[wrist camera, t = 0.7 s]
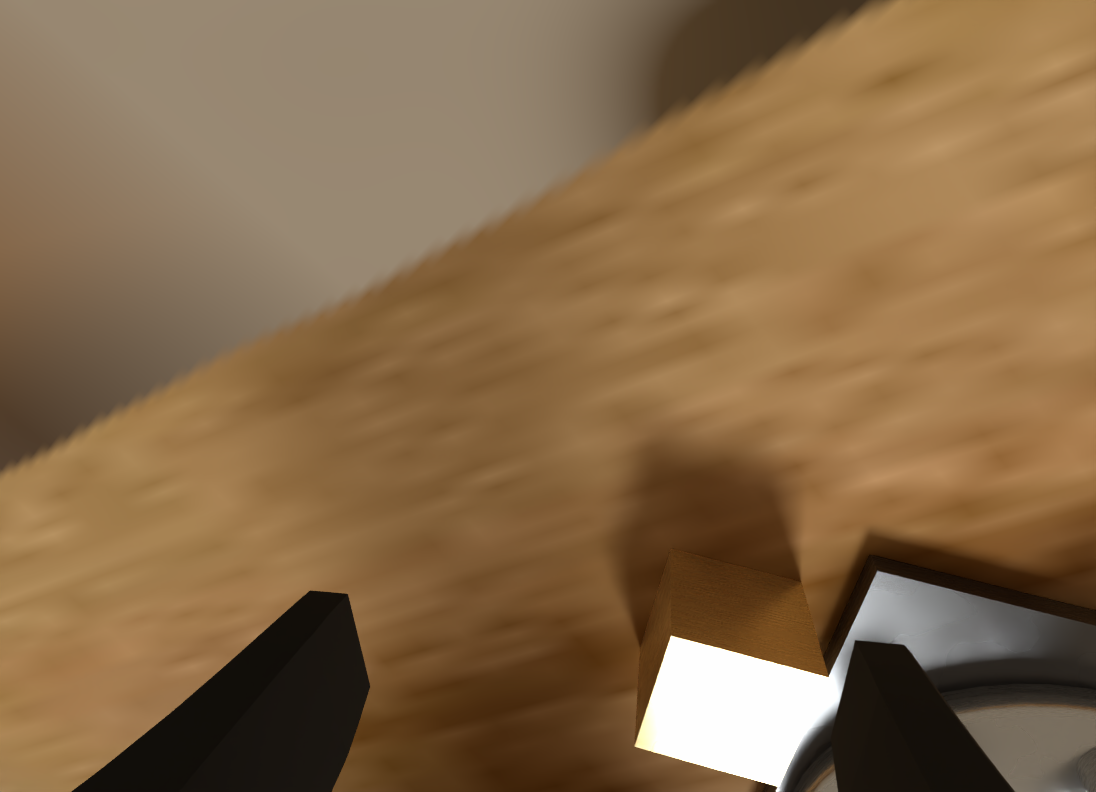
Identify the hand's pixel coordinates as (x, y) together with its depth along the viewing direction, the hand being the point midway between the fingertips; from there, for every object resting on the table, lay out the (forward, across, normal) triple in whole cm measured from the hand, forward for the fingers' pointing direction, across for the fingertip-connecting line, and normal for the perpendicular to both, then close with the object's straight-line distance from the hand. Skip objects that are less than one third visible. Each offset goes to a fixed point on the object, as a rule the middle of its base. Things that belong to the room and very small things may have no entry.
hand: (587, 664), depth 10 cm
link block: (+9, -3, +8) cm, 13 cm away
